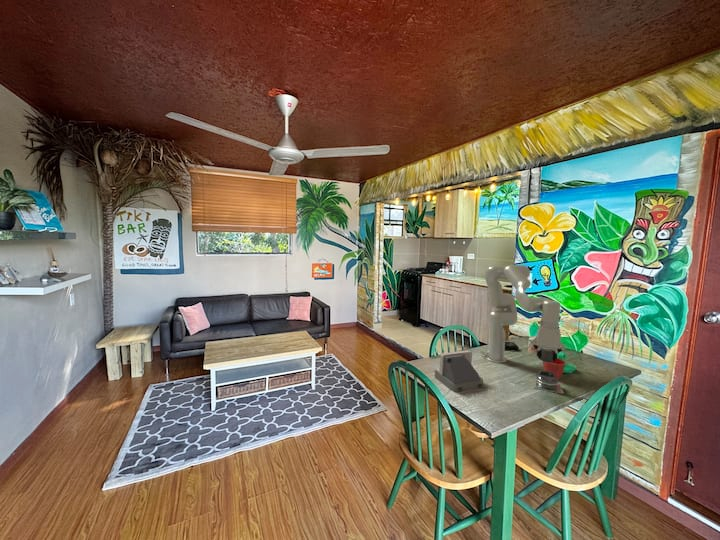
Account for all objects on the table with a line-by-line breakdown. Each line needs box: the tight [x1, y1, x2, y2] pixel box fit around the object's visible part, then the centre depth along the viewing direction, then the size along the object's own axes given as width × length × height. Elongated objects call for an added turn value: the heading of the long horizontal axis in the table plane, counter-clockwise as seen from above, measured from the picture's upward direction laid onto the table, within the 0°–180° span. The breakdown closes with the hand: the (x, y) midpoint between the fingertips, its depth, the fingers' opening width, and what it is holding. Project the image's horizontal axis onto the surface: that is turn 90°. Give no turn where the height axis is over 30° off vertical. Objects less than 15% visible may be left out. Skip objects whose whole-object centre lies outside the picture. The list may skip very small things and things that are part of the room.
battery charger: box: [504, 341, 519, 352], centre depth 210 cm, size 13×10×4 cm
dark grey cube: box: [539, 347, 554, 362], centre depth 151 cm, size 6×6×6 cm
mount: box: [557, 351, 577, 374], centre depth 174 cm, size 12×8×10 cm, turn 117°
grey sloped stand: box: [434, 350, 484, 392], centre depth 157 cm, size 21×21×15 cm
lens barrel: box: [531, 369, 565, 395], centre depth 154 cm, size 13×11×6 cm
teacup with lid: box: [527, 334, 544, 355], centre depth 202 cm, size 12×9×12 cm
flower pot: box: [542, 358, 566, 381], centre depth 165 cm, size 11×11×10 cm
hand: (546, 358), depth 152 cm, fingers closed on dark grey cube, 5 cm apart
